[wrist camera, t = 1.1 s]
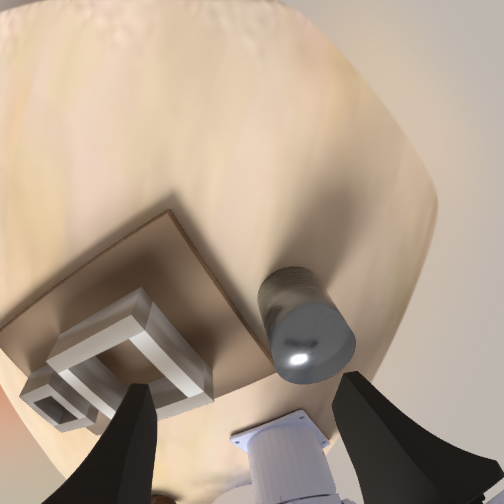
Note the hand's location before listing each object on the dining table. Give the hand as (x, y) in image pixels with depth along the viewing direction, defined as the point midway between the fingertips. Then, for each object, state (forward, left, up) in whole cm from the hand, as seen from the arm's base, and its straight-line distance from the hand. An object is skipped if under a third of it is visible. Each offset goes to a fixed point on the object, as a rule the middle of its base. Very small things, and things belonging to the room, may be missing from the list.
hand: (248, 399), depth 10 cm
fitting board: (-1, +11, -10) cm, 15 cm away
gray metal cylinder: (-3, -3, -10) cm, 11 cm away
